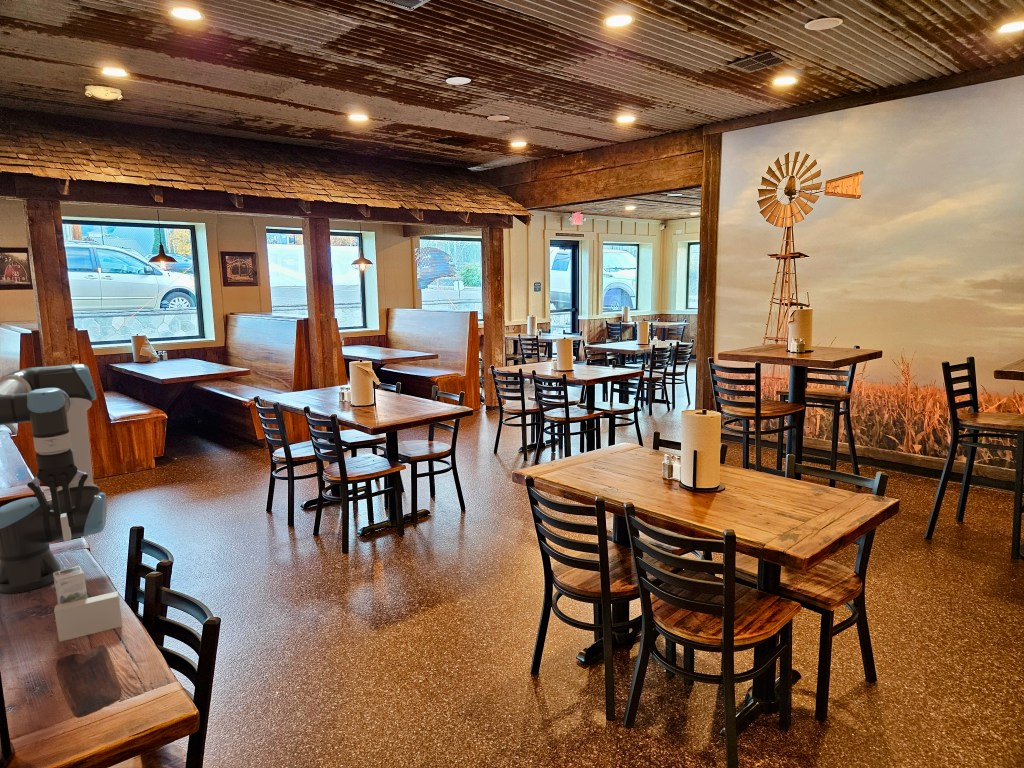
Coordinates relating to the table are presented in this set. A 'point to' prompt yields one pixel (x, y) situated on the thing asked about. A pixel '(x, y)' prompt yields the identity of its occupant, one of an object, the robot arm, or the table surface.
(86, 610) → the board
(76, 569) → the syrup box
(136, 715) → the table surface
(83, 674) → the wooden tablet
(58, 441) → the robot arm
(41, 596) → the table surface
